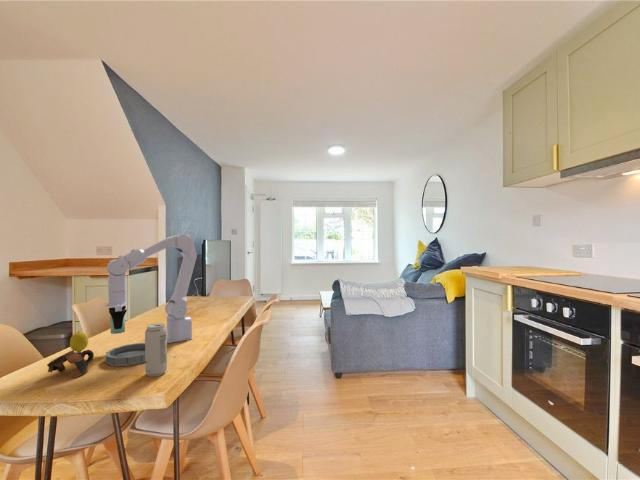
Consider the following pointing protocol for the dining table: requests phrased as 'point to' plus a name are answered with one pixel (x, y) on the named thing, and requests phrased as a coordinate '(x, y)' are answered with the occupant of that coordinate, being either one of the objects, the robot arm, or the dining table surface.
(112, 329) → the teal cup
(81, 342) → the lemon
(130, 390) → the dining table surface
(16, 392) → the dining table surface
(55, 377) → the dining table surface
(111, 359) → the tray
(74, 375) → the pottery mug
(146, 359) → the energy drink can
